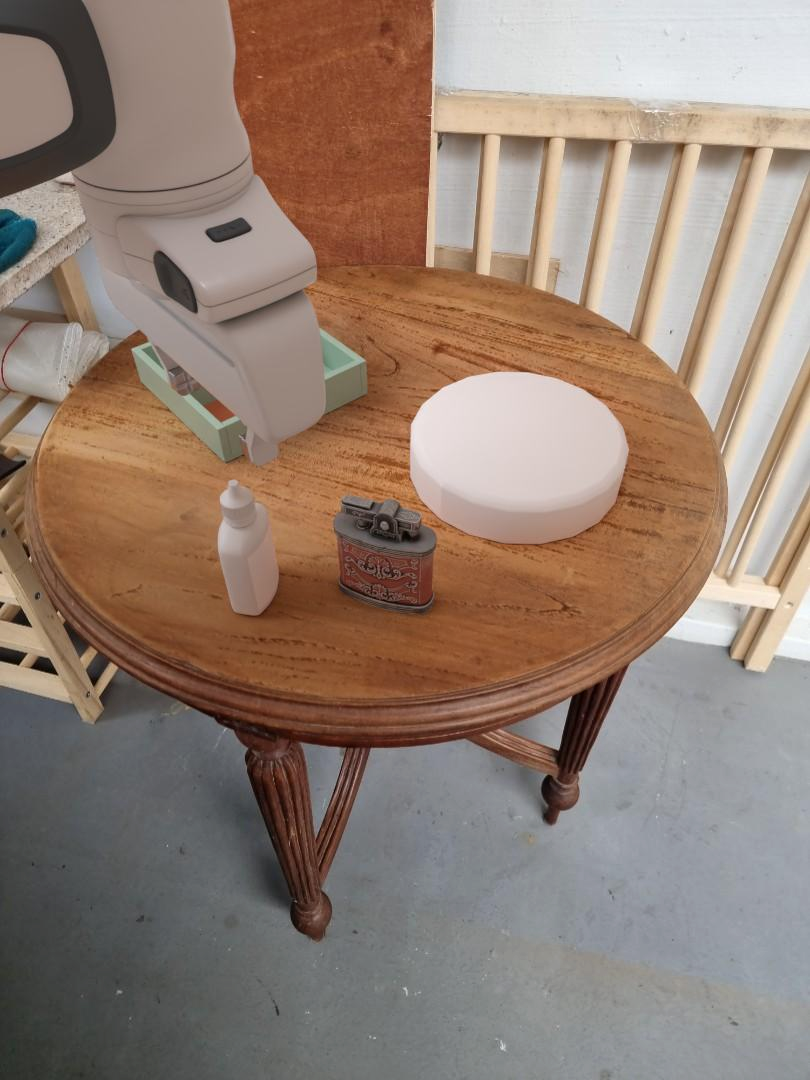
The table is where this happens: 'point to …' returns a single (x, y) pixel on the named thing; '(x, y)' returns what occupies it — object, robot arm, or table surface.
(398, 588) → the lighter
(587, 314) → the table surface
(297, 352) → the robot arm
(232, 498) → the eye dropper bottle
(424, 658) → the table surface
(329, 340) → the grid
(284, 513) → the table surface
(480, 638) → the table surface
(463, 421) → the container
